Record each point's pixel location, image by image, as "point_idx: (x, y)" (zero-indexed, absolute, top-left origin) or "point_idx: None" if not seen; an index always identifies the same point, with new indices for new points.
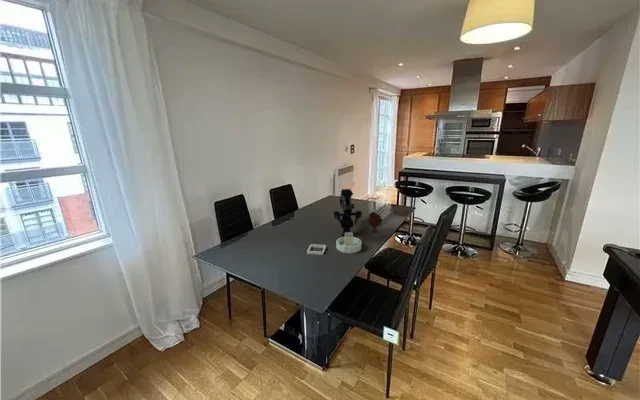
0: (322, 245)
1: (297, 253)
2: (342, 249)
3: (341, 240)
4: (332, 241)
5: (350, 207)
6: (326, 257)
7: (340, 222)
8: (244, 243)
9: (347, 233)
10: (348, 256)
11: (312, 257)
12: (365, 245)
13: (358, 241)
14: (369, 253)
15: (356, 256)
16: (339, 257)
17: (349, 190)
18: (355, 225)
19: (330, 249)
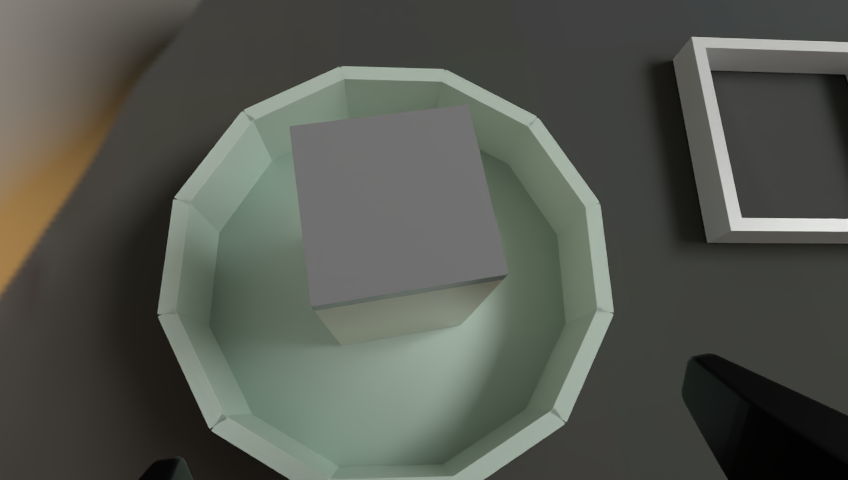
0: (773, 218)
1: None
2: None
3: (536, 408)
4: (682, 474)
5: None
6: (619, 14)
7: (831, 424)
8: None
9: (431, 213)
10: (377, 54)
11: (762, 3)
12: (127, 396)
13: (225, 387)
14: (103, 148)
15: (281, 62)
16: (478, 25)
17: None
18: (155, 463)
19: (631, 199)
